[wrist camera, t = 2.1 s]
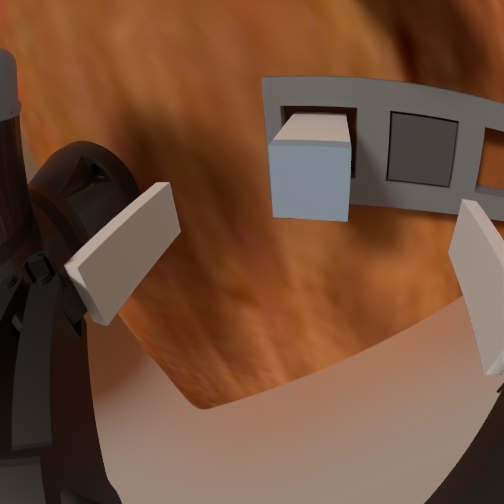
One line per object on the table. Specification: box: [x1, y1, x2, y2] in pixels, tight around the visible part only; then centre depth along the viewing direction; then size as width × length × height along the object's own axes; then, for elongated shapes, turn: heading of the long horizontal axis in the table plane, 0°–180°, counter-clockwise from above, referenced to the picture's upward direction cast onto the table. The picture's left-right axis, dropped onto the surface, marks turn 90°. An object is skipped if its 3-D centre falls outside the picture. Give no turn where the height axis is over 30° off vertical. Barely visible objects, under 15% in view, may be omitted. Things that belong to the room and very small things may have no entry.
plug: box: [268, 112, 351, 222], centre depth 19 cm, size 4×4×10 cm
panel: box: [261, 76, 504, 221], centre depth 20 cm, size 24×10×2 cm, turn 95°
